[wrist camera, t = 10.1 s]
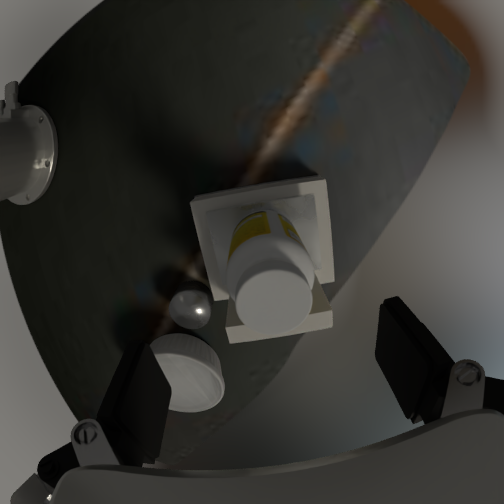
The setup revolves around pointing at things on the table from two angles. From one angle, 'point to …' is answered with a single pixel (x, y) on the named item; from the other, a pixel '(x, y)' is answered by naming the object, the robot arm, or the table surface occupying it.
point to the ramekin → (189, 371)
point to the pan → (292, 207)
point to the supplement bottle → (269, 273)
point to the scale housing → (259, 192)
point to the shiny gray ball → (191, 305)
